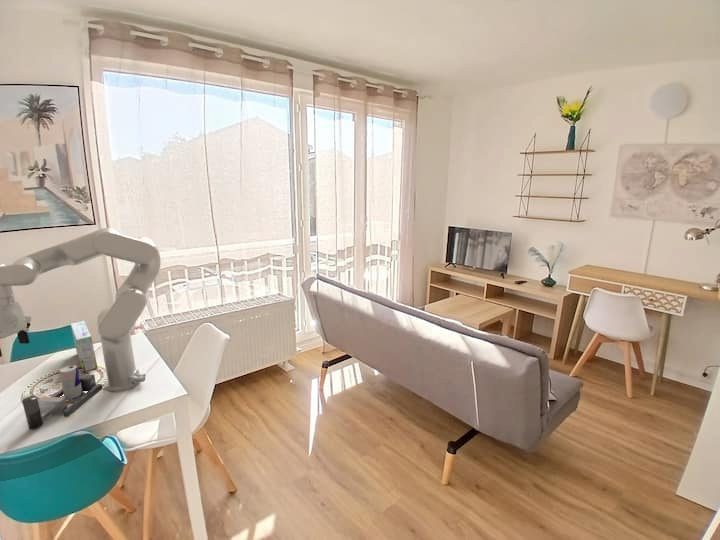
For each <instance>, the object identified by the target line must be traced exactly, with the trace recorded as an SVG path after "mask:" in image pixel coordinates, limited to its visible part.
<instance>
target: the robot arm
mask: <svg viewBox="0 0 720 540" xmlns="http://www.w3.org/2000/svg"><path fill="white" fill-rule="evenodd" d="M104 255H105V256H107V257H110V258H114V259H117V260H122V261H126V262H130V263H133V264H134V266H133V268H132V269H131V271H130V272H129V274H128V276H127V277H126V278H125V279H124V281H123V283H122V284H121V285H120V286H119V288H118V289H117V290H116V292H115V301H114V303H113V304H112V305H111V306H107V307H105V308H103V309H102V310H101V311H100V312H99V313H98V315H97V321H96V323H97V324H96V325H97V332H98V335H99V337H100V342H101V349H102V355H103V361H104V366H105V371H106V372H105V373H106V378H107V380H106V381H105V382H104V384H103V387H104V391H107V392H109V393H119V392H123V391H128V390H130V389H133V388H135V387H136V386H138V385H139V384H140V383H143V382H145V381H146V373H140V371H139V369H136V364H135V356H134V350H133V343H132V342H133V341H132V336H131V329H132V328H133V327H134V325H135V324H136V323H137V321H138V320H139V318H140V317H141V315H142V314H143V312H144V311H145V308H146V306H147V294H148V291H149V289H150V288H151V287H152V285H153V283H154V281H155V280H156V278H157V277H158V275H159V273H160V272H159V271H160V269H161V263H162V262H161V261H162V260H161V255H160V251H159V249H158V247H157V246H156V244H155V242H154V241H153V240H152V239H150V238H148V237H145V236H139V237H136V238H134V237H130V236H129V235H128V236H127V235H124V234H121V233H120V232H119V231H117V230H116V229H114V228H110V227H103V228H99V229H97V230H94V231H92V232H89V233H86V234H83V235H81V236H79V237H76V238H72V239H69V240H68V241H64V242H62V243H58V244H56V245H53V246H51V247H47V248H44V249H40V250H39V251H36V252H33V253H30V254H28V255H25V256H22V257H20V258H18V259H16V260H15V261H14V262H13V263H12V264H8V265H6V264H4V263H0V340H1V339H5V338H7V337H10V336H13V335H14V334H17V338H18V343H19V344H30V342H31V341H30V339H29V335H28V332H30V331H29V330H30V329H29V328H30V327H31V322H32V317H31V316H25V314H24V311H23V309H22V307H21V305H20V303H19V301H18V300H16V299H15V295H14V291H13V287H21V286H29V285H31V284H33V283H35V281H36V280H37V279H38V277H39V275H43V274H44V273H47V272H49V271H50V272H51V271H53V270H54V269H58V268H61V267H65V266H78V265H82V264H83V263H84V264H85V263H86V262H88V261H91V260H94V259H96V258H99V257H102V256H104ZM2 356H3V353H2V349H1V348H0V358H1V357H2Z"/></svg>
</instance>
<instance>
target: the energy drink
mask: <svg viewBox="0 0 720 540" xmlns="http://www.w3.org/2000/svg"><path fill="white" fill-rule="evenodd" d="M79 374H80V372H79V368H78V366H77V365H75V364H70V365H66V366H64V367H61V368H60V369H59V378H60V381H61V385H62V388H63V392H64V396H63V397H66V400H68V401H67V402H69V401H70V402H76V401H77V399H79V398H81V397H82V395H84V393H83V391H82V386H81V381H80V376H79Z"/></svg>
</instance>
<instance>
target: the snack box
mask: <svg viewBox="0 0 720 540" xmlns="http://www.w3.org/2000/svg"><path fill="white" fill-rule="evenodd" d="M70 328H71V329H70V330H71V333H72V334H71V335H72V339H73V341H74V347H75V351H76V353H77V357H78V360H79V363H80V367H81V369H82V372H83V373H85V372H89V371H92V370H95V369H98V368H99V367H98V363H97V358H96V353H95V347H94V344H93V339H92V338H93V337H92V335H91V332H90V331H89V329H88V327H87V325H86V323H85V321H84V320H82V321H78V322H73V323H70Z"/></svg>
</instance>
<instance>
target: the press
mask: <svg viewBox="0 0 720 540" xmlns="http://www.w3.org/2000/svg"><path fill="white" fill-rule="evenodd" d="M79 376H80V381H81V386H82V391H88V392H87V393H83V396H82V397H81V398H79V399H78V400H75V401H70V402H69V401H66V402H67V404H71V405H70V406H67V407H68V408H67V409H66V410H64V411H63V417H64V418H68V417H70V416H71V415H72V414H73V413H75V412H76V411H77V410H79V408H81V407H82V406H83V405H85V404H86V403H88V402H89V400H91V398H93V397H95V396H96V394H98V393H99V392H100V391H101V390H103V384H102V383H96V382H97V381H96V378H95V374H90V373H89V374H88V373H87V374H85V373H79ZM63 394H64V392H63V387H62V388H61V389H59V390H58V391H56V392H55V393H53V395H50V397H60V396H62V395H63Z"/></svg>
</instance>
